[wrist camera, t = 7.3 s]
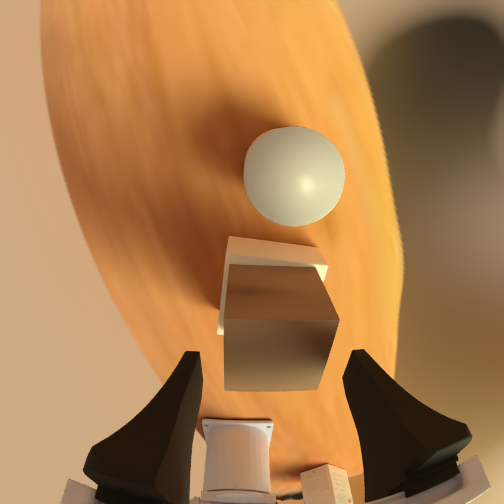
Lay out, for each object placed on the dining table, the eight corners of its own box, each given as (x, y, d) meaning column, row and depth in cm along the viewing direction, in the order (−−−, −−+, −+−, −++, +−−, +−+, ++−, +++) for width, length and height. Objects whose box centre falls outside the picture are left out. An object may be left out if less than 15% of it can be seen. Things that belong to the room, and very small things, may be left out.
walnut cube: (303, 332, 18) (317, 389, 14) (228, 331, 18) (224, 390, 13) (315, 267, 16) (339, 319, 12) (229, 264, 16) (223, 318, 11)
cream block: (298, 316, 21) (304, 341, 18) (220, 308, 21) (217, 334, 18) (317, 245, 19) (328, 265, 16) (229, 233, 18) (225, 253, 16)
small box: (299, 472, 36) (305, 522, 26) (328, 462, 34) (337, 514, 25) (320, 478, 38) (327, 522, 29) (346, 469, 37) (356, 514, 27)
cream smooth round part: (315, 201, 17) (338, 228, 13) (243, 198, 17) (242, 224, 13) (320, 131, 15) (348, 132, 11) (246, 126, 15) (244, 123, 11)
